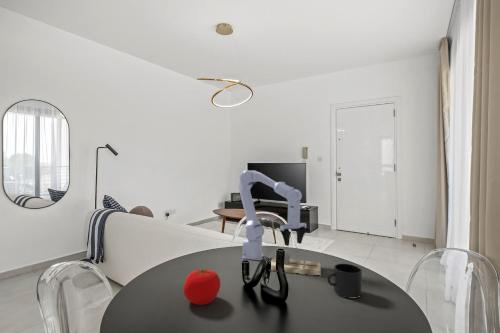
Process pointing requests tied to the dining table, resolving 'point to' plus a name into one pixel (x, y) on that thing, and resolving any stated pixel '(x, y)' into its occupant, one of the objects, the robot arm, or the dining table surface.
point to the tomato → (201, 286)
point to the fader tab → (287, 258)
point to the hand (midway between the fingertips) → (293, 244)
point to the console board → (299, 267)
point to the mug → (347, 280)
